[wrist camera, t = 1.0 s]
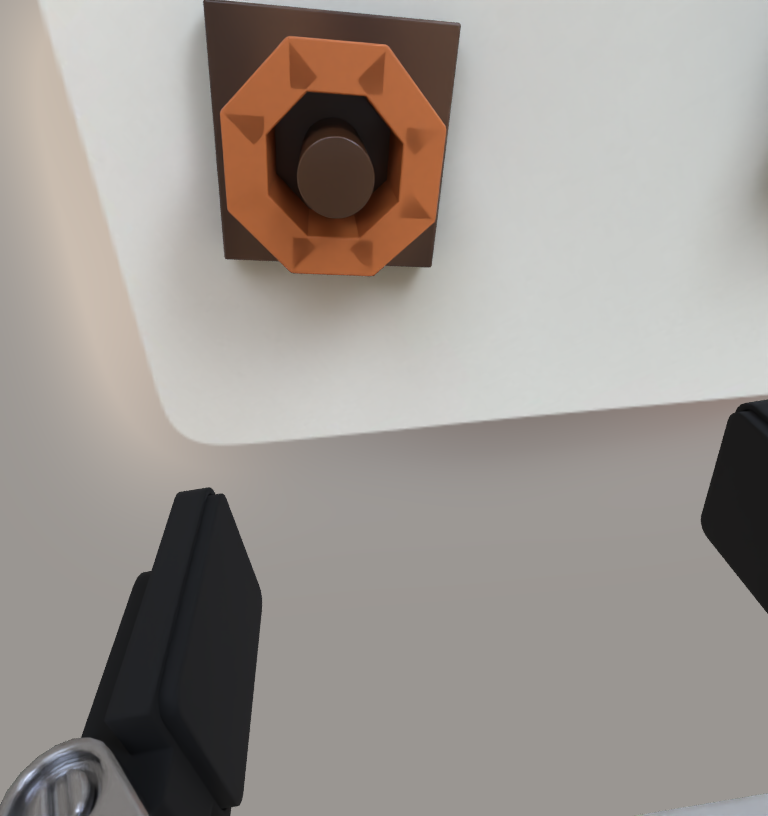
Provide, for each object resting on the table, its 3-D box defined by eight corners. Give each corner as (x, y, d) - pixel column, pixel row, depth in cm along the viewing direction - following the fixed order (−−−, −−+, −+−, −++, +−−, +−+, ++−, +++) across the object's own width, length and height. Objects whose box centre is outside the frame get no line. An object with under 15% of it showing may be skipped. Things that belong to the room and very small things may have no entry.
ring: (244, 239, 23) (231, 271, 20) (231, 32, 19) (212, 28, 16) (413, 247, 24) (428, 279, 21) (433, 50, 20) (456, 50, 17)
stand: (229, 249, 25) (201, 310, 19) (210, 1, 20) (163, -19, 14) (426, 257, 26) (457, 318, 20) (453, 24, 21) (504, 14, 15)
